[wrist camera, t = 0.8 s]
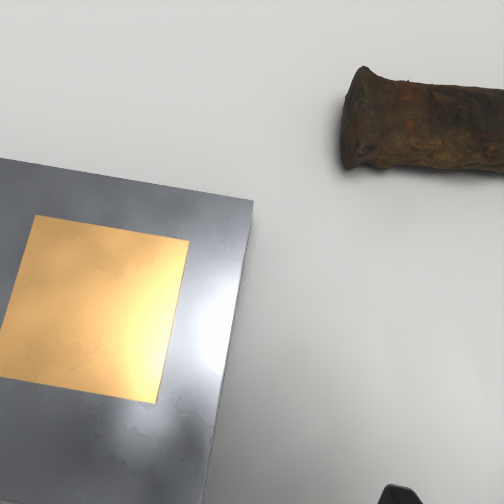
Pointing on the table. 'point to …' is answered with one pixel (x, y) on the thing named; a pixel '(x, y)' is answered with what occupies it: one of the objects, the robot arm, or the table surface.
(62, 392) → the plate
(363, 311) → the table surface
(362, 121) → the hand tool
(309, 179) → the table surface
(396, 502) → the robot arm
